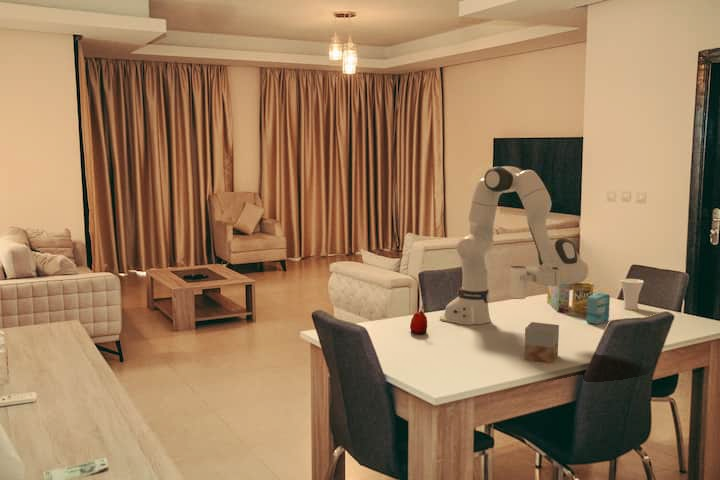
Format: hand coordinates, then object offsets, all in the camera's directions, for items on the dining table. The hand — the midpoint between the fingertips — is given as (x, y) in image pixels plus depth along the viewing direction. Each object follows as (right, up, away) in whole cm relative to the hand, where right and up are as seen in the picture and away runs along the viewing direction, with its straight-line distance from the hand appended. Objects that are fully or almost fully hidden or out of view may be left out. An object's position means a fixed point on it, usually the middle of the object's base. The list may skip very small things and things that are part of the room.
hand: (516, 276), depth 270 cm
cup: (+69, -19, +64) cm, 96 cm away
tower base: (+6, -29, -13) cm, 33 cm away
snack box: (+35, -19, +68) cm, 78 cm away
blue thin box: (+45, -22, +39) cm, 63 cm away
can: (+1, -8, +1) cm, 9 cm away
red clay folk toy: (-36, -25, +22) cm, 49 cm away
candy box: (+42, -21, +51) cm, 69 cm away
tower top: (+6, -23, -14) cm, 28 cm away
